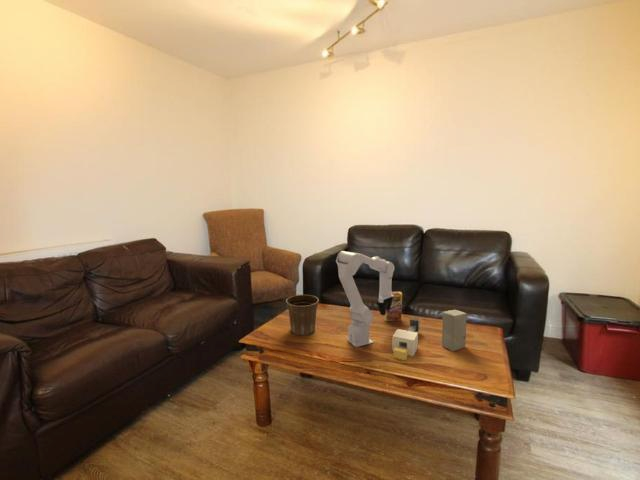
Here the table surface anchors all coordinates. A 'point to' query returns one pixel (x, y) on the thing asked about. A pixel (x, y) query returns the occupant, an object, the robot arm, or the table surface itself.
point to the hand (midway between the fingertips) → (385, 312)
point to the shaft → (413, 326)
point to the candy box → (394, 308)
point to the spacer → (400, 353)
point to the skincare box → (454, 329)
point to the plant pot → (302, 313)
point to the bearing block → (405, 341)
